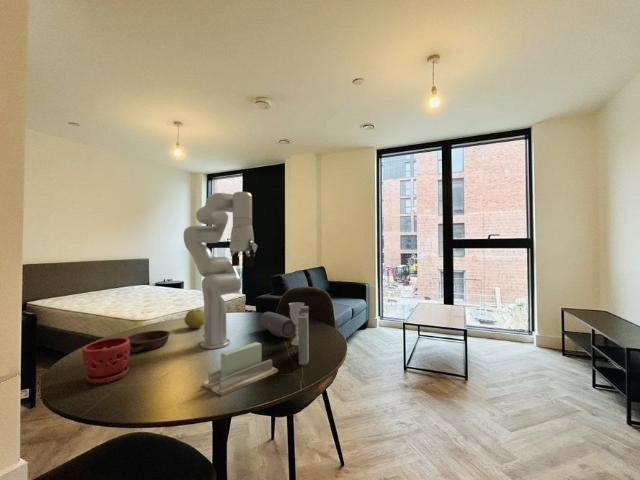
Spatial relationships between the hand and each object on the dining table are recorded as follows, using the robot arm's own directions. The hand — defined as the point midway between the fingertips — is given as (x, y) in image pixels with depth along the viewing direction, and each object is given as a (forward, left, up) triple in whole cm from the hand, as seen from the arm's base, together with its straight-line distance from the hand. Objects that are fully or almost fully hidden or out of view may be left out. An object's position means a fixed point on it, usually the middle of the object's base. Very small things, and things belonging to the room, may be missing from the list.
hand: (242, 266), depth 119 cm
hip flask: (+18, +16, -37) cm, 44 cm away
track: (+15, -11, -36) cm, 41 cm away
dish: (-46, -18, -37) cm, 62 cm away
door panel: (+15, -11, -35) cm, 40 cm away
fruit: (-58, +10, -36) cm, 69 cm away
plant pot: (-21, -40, -37) cm, 58 cm away
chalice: (+4, +26, -36) cm, 45 cm away
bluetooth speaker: (-14, +30, -37) cm, 49 cm away
